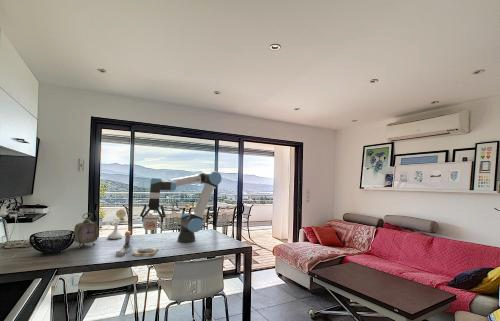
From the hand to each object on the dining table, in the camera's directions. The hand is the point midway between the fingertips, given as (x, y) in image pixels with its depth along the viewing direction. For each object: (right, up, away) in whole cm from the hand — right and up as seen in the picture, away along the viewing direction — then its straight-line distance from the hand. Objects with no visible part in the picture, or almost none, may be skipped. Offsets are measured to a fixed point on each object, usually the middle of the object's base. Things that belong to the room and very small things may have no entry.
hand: (152, 226), depth 200 cm
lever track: (-15, -15, -14) cm, 25 cm away
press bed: (0, -16, -12) cm, 20 cm away
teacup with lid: (0, -2, 0) cm, 2 cm away
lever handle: (-15, -12, -9) cm, 21 cm away
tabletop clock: (-50, -15, -3) cm, 52 cm away
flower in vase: (-40, -17, +25) cm, 50 cm away
